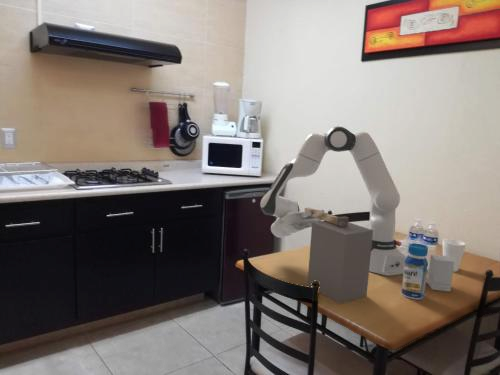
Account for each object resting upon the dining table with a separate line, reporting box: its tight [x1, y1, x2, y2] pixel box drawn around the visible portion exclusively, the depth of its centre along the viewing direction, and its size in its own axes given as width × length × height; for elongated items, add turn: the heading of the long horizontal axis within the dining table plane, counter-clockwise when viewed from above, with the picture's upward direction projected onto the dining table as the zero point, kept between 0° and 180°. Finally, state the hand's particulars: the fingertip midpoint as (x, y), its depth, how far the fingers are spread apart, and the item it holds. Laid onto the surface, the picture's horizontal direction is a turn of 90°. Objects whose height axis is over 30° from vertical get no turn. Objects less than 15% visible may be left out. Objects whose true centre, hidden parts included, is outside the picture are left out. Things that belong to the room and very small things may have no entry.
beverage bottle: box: [400, 243, 429, 300], centre depth 150 cm, size 8×8×20 cm
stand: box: [307, 220, 373, 305], centre depth 151 cm, size 18×14×26 cm
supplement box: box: [426, 254, 454, 292], centre depth 160 cm, size 7×7×13 cm
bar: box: [304, 207, 350, 227], centre depth 156 cm, size 22×4×3 cm, turn 32°
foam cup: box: [441, 238, 467, 273], centre depth 181 cm, size 10×9×13 cm
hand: (315, 212), depth 161 cm, fingers closed on bar, 2 cm apart
